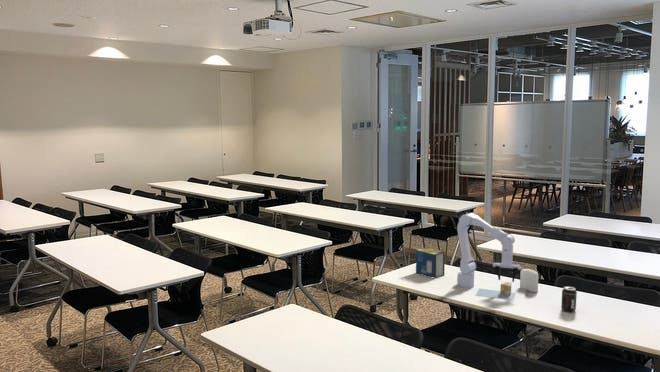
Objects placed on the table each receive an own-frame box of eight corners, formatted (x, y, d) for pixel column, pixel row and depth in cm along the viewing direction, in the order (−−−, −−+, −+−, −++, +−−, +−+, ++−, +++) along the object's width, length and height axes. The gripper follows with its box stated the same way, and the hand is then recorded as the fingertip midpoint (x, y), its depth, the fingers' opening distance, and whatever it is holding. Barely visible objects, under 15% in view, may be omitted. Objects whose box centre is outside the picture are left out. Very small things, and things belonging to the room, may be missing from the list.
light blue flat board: (475, 297, 289) (475, 295, 289) (479, 290, 302) (479, 288, 302) (513, 302, 281) (513, 300, 281) (515, 295, 294) (515, 293, 294)
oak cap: (500, 294, 291) (500, 284, 290) (501, 292, 295) (501, 281, 295) (510, 295, 289) (510, 285, 288) (511, 293, 293) (511, 282, 293)
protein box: (426, 270, 344) (426, 247, 342) (444, 275, 332) (445, 251, 330) (415, 273, 338) (415, 249, 336) (433, 278, 326) (434, 254, 324)
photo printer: (518, 288, 305) (519, 268, 303) (522, 287, 307) (523, 267, 306) (535, 293, 297) (536, 272, 295) (539, 291, 299) (539, 270, 298)
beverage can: (577, 313, 265) (578, 290, 264) (562, 312, 266) (564, 289, 265) (573, 308, 272) (575, 286, 270) (559, 308, 273) (560, 285, 272)
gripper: (492, 257, 289) (491, 280, 290) (520, 259, 283) (519, 284, 284) (494, 254, 295) (493, 277, 297) (521, 256, 289) (520, 280, 291)
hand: (506, 280), depth 291 cm, fingers open, 7 cm apart
